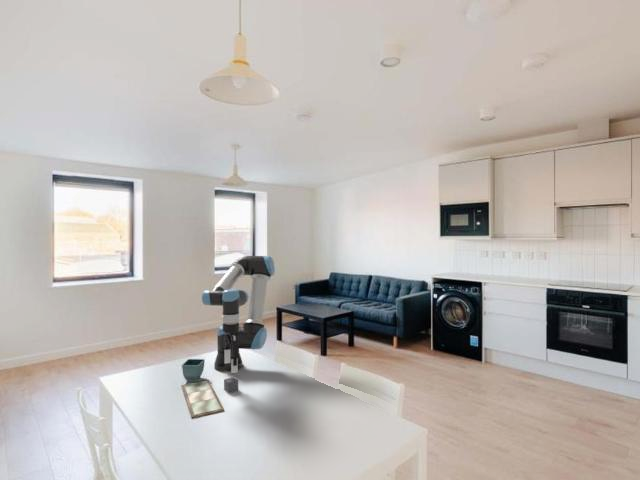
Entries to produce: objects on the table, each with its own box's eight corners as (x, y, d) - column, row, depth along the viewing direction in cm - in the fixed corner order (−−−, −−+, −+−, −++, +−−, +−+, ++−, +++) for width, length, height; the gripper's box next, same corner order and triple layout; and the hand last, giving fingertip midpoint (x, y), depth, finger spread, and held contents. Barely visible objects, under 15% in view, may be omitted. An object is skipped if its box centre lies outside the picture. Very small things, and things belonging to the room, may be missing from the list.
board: (209, 381, 181) (209, 379, 181) (224, 411, 151) (224, 408, 151) (181, 386, 175) (181, 384, 175) (191, 418, 145) (191, 416, 145)
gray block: (233, 387, 175) (233, 376, 175) (238, 390, 171) (238, 380, 171) (224, 389, 172) (224, 379, 171) (228, 393, 168) (228, 382, 168)
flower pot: (199, 383, 179) (199, 365, 179) (181, 383, 179) (181, 365, 179) (205, 376, 188) (205, 359, 187) (188, 376, 188) (188, 358, 188)
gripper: (217, 318, 180) (217, 360, 180) (229, 329, 158) (229, 377, 158) (232, 316, 183) (232, 358, 183) (246, 327, 161) (246, 375, 161)
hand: (230, 367), depth 171 cm, fingers open, 13 cm apart
